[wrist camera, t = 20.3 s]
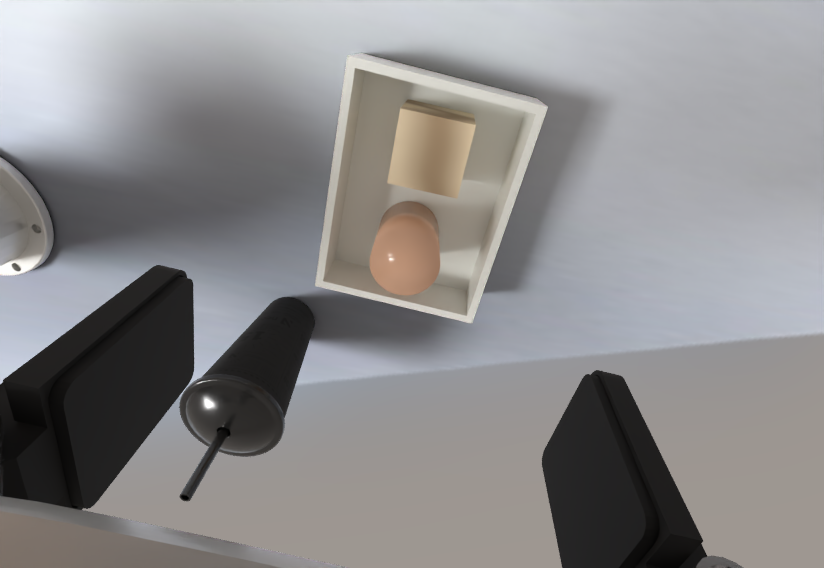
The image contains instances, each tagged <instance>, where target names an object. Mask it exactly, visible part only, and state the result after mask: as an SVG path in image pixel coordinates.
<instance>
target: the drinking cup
mask: <svg viewBox="0 0 824 568" xmlns="http://www.w3.org/2000/svg"><path fill="white" fill-rule="evenodd" d="M314 324H315V320H314V316H313V313H312V312H311V310H310V309H309V307H308V306H307V305H305V304H304V303H303V302H301V301H299V300H297V299H294V298H279V299H277V300H275V301H273V302H272V303H271V304H270V305H269V306H268V307H267V308H266V309H265V310H264V311H263V312H262V313H261V315H260V316H259V317H258V318H257V319H256V320H255V321H254V322H253V323H252V324H251V325H250V326H249V327H248V328H247V329H246V331H245V332H244V333H243V334H242V335H241V336H240V337H239V338H238V339H237V340H236V341H235V342H234V343H233V344H232V345H231V347H230V348H229V349H228V350H227V351H226V352H225V353H224V354H223V355H222V356H221V357H220V358H219V359H218V360H217V361H216V363H215V364H214V365H213V366H212V367H211V368H210V369H209V370H208V371H207V372H206V373H205V374H204V375H203V376H202V378H199V379H197V380H196V381H194V382H193V383H191V384H190V385H189V386H188V387H187V388H186V390H185V391H184V393H183V394H182V396H181V399H180V407H179V408H180V415H181V418H182V420H183V422H184V424H185V426H186V427H187V428H188V430H189V431H190V432H191V434H192V435H193V436H194V437H196V438H197V439H198V440H199V441H200V442H202V443H203V444H205V445H206V446H208V447H209V448H208V450H207V451H206V453H205V455H204V456H203V458H202V459H201V461H200V463H199V464H198V466H197V468H196V469H195V471H194V473H193V474H192V476H191V478H190V479H189V481H188V483H187V484H186V486H185V488H184V489H183V491H182V493H181V494H180V498H181V499H182V500H183V501H190V499H191V498H192V496H193V494H194V493H195V491H196V489H197V487H198V486H199V484H200V482H201V481H202V479H203V477H204V475H205V474H206V471H207V470H208V468H209V467H210V465H211V463H212V461H213V460H214V458H215V456H216V455H217V453H218V451H219V452H222V453H225V454H228V455H233V456H242V457H248V456H256V455H260V454H263V453H266V452H268V451H269V450H271V449H272V448H273V447H275V446H276V445H277V444H278V442H279V441H280V439H281V437H282V435H283V432H284V428H285V420H284V418H285V415H286V412H287V408H288V405H289V402H290V399H291V396H292V393H293V390H294V387H295V384H296V381H297V378H298V375H299V371H300V368H301V365H302V362H303V359H304V356H305V353H306V350H307V347H308V344H309V340H310V337H311V334H312V331H313V328H314Z"/></svg>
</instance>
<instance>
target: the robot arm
mask: <svg viewBox="0 0 824 568" xmlns="http://www.w3.org/2000/svg"><path fill="white" fill-rule="evenodd" d="M53 239H54V233H53V225H52V222H51V218H50V215H49V212H48V210H47V208H46V206H45V204H44V202H43V200H42V198H41V197H40V195H39V194H38V193H37V191H36V190H35V188H34V187H33V186H32V185H31V183H30V182H29V181H28V180H27V179H26V178H25V177H24V176H23V175H22V174H21V173H20V172H19V171H18V170H17V169H16V168H14V167H13V166H12V165H11V164H10V163H8V162H7V161H5V160H4V159H2V158H1V157H0V275H2V276H16V275H20V274H24V273H27V272H29V271H31V270H33V269H35V268H37V267H38V266H39V265H41V264H42V263H44V261H45V260H46V259H47V258H48V256H49V255H50V252H51V250H52V247H53ZM193 372H194V314H193V282H192V280H191V279H188V278H187V275H186V273H185V272H184V271H182V270H178V269H174V268H169V267H165V266H161V265H156V266H154V267H153V268H151V269H150V270H149V271H147V272H146V273H145V274H143V275H142V276H141V277H139V278H138V279H137V280H135V281H134V282H133V283H131V284H130V285H129V286H127V287H126V288H125V289H123V290H122V291H121V292H119V293H118V294H117V295H115V296H114V297H113V298H111V299H110V300H109V301H107V302H106V303H105V304H103V305H102V306H101V307H99V308H98V309H97V310H95V311H94V312H93V313H91V314H90V315H89V316H88V317H86V318H85V319H84V320H82V321H81V322H80V323H78V324H77V325H76V326H74V327H73V328H72V329H70V330H69V331H68V332H66V333H65V334H64V335H62V336H61V337H60V338H58V339H57V340H56V341H54V342H53V343H52V344H50V345H49V346H48V347H46V348H45V349H44V350H42V351H41V352H40V353H38V354H37V355H36V356H34V357H33V358H32V359H30V360H29V361H28V362H26V363H25V364H24V365H22V366H21V367H20V368H18V369H17V370H16V371H14V372H13V373H12V374H11V375H9V376H8V377H7V378H5V379H4V380H3V383H2V384H0V568H348V567H343V566H339V565H334V564H329V563H325V562H321V561H316V560H312V559H307V558H303V557H298V556H294V555H289V554H285V553H280V552H276V551H271V550H267V549H262V548H258V547H253V546H248V545H243V544H239V543H234V542H229V541H225V540H221V539H215V538H211V537H206V536H202V535H197V534H193V533H188V532H184V531H178V530H174V529H169V528H165V527H161V526H155V525H151V524H147V523H142V522H137V521H132V520H128V519H123V518H118V517H113V516H108V515H103V514H98V513H93V512H88V511H83V510H82V509H83V508H86V509H88V508H91V507H92V506H93V505H94V504H95V503H96V502H97V501H98V500H99V498H100V497H101V496H102V495H103V493H104V492H105V491H106V489H107V488H108V487H109V486H110V484H111V483H112V482H113V480H114V479H115V478H116V477H117V475H118V474H119V473H120V471H121V470H122V469H123V468H124V466H125V465H126V464H127V462H128V461H129V460H130V458H131V457H132V456H133V455H134V453H135V452H136V450H137V449H138V448H139V447H140V446H141V444H142V443H143V442H144V440H145V439H146V438H147V436H148V435H149V434H150V433H151V431H152V430H153V429H154V428H155V426H156V425H157V424H158V422H159V421H160V420H161V419H162V417H163V416H164V415H165V413H166V412H167V410H169V408H170V407H171V406H172V404H173V403H174V402H175V401H176V399H177V398H178V397H179V395H180V394H181V393H182V392H183V390H184V389H185V388H186V386H187V385H188V384H189V382H190V380H191V378H192V376H193ZM542 467H543V472H544V477H545V482H546V487H547V493H548V498H549V503H550V508H551V513H552V517H553V523H554V528H555V532H556V538H557V543H558V548H559V553H560V558H561V563H562V568H743V567H741V566H740V565H738V564H737V563H735V562H733V561H730V560H728V559H725V558H723V557H716V556H708V557H707V555H706V553H705V551H704V549H703V547H702V544H701V543H702V542H703V540H702V538H701V535H700V533H699V531H698V529H697V527H696V525H695V523H694V521H693V519H692V517H691V515H690V513H689V511H688V509H687V507H686V505H685V503H684V501H683V499H682V497H681V495H680V492H679V490H678V488H677V486H676V484H675V482H674V480H673V478H672V476H671V474H670V472H669V470H668V468H667V466H666V464H665V462H664V460H663V458H662V456H661V454H660V452H659V450H658V447H657V446H656V443H655V441H654V439H653V437H652V436H651V433H650V431H649V429H648V427H647V425H646V423H645V421H644V419H643V417H642V415H641V413H640V411H639V409H638V406H637V405H636V402H635V400H634V399H633V396H632V394H631V392H630V390H629V388H628V386H627V384H626V382H625V380H624V378H623V377H622V376H619V375H615V374H611V373H607V372H603V371H599V370H596V371H594V372H593V373H592V374H591V375H589V374H587V375H585V376H584V378H583V379H582V381H581V382H580V384H579V386H578V388H577V390H576V392H575V394H574V395H573V397H572V399H571V401H570V403H569V405H568V407H567V409H566V410H565V412H564V414H563V416H562V418H561V420H560V422H559V424H558V425H557V427H556V429H555V431H554V433H553V435H552V437H551V439H550V440H549V442H548V444H547V446H546V448H545V450H544V453H543V457H542Z"/></svg>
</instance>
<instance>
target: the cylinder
mask: <svg viewBox="0 0 824 568" xmlns="http://www.w3.org/2000/svg"><path fill="white" fill-rule="evenodd" d="M370 270H371V273H372V275H373V277H374V279H375V281H376V282H377V283H378V284H379V285H380V286H381V287H382V288H384V289H385V290H387V291H389V292H391V293H394V294H397V295H414V294H418V293H420V292H422V291H424V290H426V289H427V288H429V287H430V286H431V285H432V284H433V283H434V281H435V280H436V278H437V276H438V274H439V270H440V246H439V226H438V222H437V219H436V217H435V215H434V214H433V212H432V211H431V210H430V209H429V208H427V207H426V206H424V205H423V204H420V203H418V202H413V201H404V202H400V203H397V204H395V205H393V206H391V207H390V208H389V209H388V210H387V211H386V212H385V213H384V215H383V216H382V219H381V221H380V225H379V228H378V231H377V235H376V238H375V241H374V245H373V248H372V251H371V255H370Z"/></svg>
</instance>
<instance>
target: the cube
mask: <svg viewBox="0 0 824 568" xmlns="http://www.w3.org/2000/svg"><path fill="white" fill-rule="evenodd" d="M475 128H476V122H475V118H474V114H471V113H467V112H463V111H458V110H454V109H449V108H445V107H440V106H436V105H432V104H427V103H423V102H418V101H414V100H409V99H407V101H406V102H405V103H404V104H403V106H402V107H401V108H400V113H399V118H398V124H397V130H396V135H395V141H394V147H393V152H392V158H391V164H390V169H389V175H388V181H387V183H389V184H393V185H398V186H402V187H407V188H411V189H416V190H420V191H425V192H429V193H434V194H438V195H443V196H447V197H452V198H456V199H457V198H458V194H459V190H460V186H461V182H462V178H463V174H464V170H465V167H466V163H467V159H468V155H469V151H470V147H471V143H472V139H473V136H474V132H475Z"/></svg>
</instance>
